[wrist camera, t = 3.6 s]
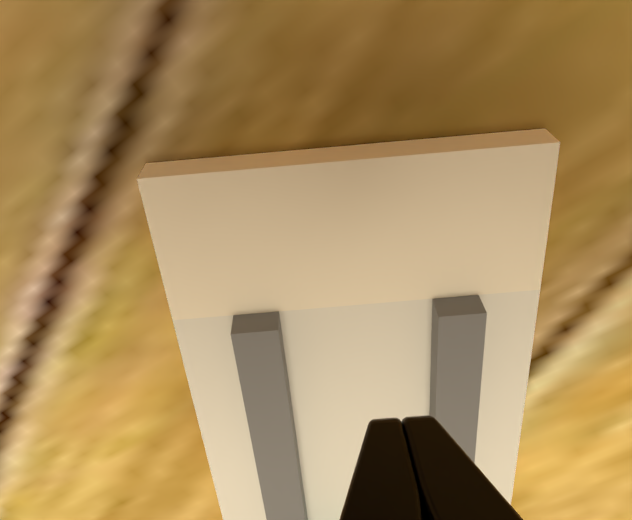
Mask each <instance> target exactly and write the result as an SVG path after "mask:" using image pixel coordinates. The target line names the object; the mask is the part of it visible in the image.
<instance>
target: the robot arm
mask: <svg viewBox="0 0 632 520" xmlns="http://www.w3.org/2000/svg"><path fill="white" fill-rule="evenodd" d="M339 520H523V519H522V518H521V517H520V515H519V514H518V513H517V512H516V511H515V510H514V508H513V507H512V506H511V505H510V504H509V503H508V502H507V500H506V499H505V498H504V497H503V496H502V495H501V493H500V492H499V491H498V490H497V489H496V488H495V486H494V485H493V484H492V483H491V482H490V481H489V480H488V478H487V477H486V476H485V475H484V474H483V473H482V471H481V470H480V469H479V468H478V467H477V466H476V464H475V463H474V462H473V461H472V460H471V459H470V458H469V456H468V455H467V454H466V453H465V452H464V451H463V449H462V448H461V447H460V446H459V445H458V444H457V443H456V441H455V440H454V439H453V438H452V437H451V436H450V434H449V433H448V432H447V431H446V430H445V429H444V427H443V426H442V425H441V424H440V423H439V422H438V421H437V419H436V418H434V417H433V416H430V415H425V416H410V417H405V418H404V419H402V421H400V419H398V418H381V419H372V420H371V421H370V422H369V423H368V426H367V429H366V433H365V436H364V439H363V443H362V446H361V449H360V453H359V456H358V459H357V463H356V466H355V469H354V473H353V476H352V479H351V483H350V486H349V489H348V493H347V496H346V499H345V503H344V506H343V509H342V513H341V516H340V519H339Z"/></svg>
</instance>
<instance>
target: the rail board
mask: <svg viewBox="0 0 632 520" xmlns="http://www.w3.org/2000/svg"><path fill="white" fill-rule="evenodd" d="M559 149H560V141H559V140H557V139H556V138H555V137H554V136H553V135H552V134H551V133H550V132H549V131H547V130H546V129H545V128H543V129H532V130H520V131H509V132H497V133H486V134H474V135H463V136H451V137H440V138H428V139H417V140H405V141H394V142H383V143H371V144H360V145H348V146H337V147H325V148H314V149H302V150H291V151H279V152H268V153H257V154H245V155H234V156H222V157H211V158H199V159H188V160H176V161H165V162H153V163H146V164H145V165H144V167H143V169H142V171H141V172H140V174H139V176H138V178H137V182H138V186H139V190H140V194H141V198H142V202H143V206H144V210H145V214H146V218H147V222H148V225H149V229H150V233H151V237H152V241H153V245H154V249H155V253H156V257H157V261H158V265H159V269H160V273H161V277H162V281H163V285H164V289H165V292H166V296H167V300H168V304H169V308H170V312H171V316H172V320H173V324H174V328H175V332H176V336H177V340H178V344H179V348H180V352H181V355H182V359H183V363H184V367H185V371H186V375H187V379H188V383H189V387H190V391H191V395H192V399H193V403H194V407H195V411H196V415H197V419H198V422H199V426H200V430H201V434H202V438H203V442H204V446H205V450H206V454H207V458H208V462H209V466H210V470H211V474H212V478H213V482H214V486H215V489H216V493H217V497H218V501H219V505H220V509H221V513H222V517H223V520H339V519H340V516H341V513H342V509H343V506H344V503H345V499H346V496H347V493H348V489H349V486H350V483H351V479H352V476H353V473H354V469H355V466H356V463H357V459H358V456H359V453H360V449H361V446H362V443H363V439H364V436H365V433H366V429H367V426H368V423H369V422H370V421H371V420H372V419H381V418H398V419H400V421H402V419H404V418H405V417H410V416H425V415H430V416H433V417H434V418H436V419H437V421H438V422H439V423H440V424H441V425H442V426H443V427H444V429H445V430H446V431H447V432H448V433H449V434H450V436H451V437H452V438H453V439H454V440H455V441H456V443H457V444H458V445H459V446H460V447H461V448H462V449H463V451H464V452H465V453H466V454H467V455H468V456H469V458H470V459H471V460H472V461H473V462H474V463H475V464H476V466H477V467H478V468H479V469H480V470H481V471H482V473H483V474H484V475H485V476H486V477H487V478H488V480H489V481H490V482H491V483H492V484H493V485H494V486H495V488H496V489H497V490H498V491H499V492H500V493H501V495H502V496H503V497H504V498H505V499H506V500H507V502H508V503H509V504H510V505H511V500H512V493H513V485H514V478H515V471H516V464H517V456H518V449H519V442H520V434H521V427H522V420H523V412H524V405H525V398H526V390H527V383H528V376H529V368H530V361H531V354H532V346H533V339H534V332H535V324H536V317H537V310H538V302H539V295H540V288H541V280H542V273H543V266H544V259H545V251H546V244H547V237H548V229H549V222H550V215H551V207H552V200H553V193H554V185H555V178H556V171H557V163H558V156H559Z"/></svg>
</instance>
